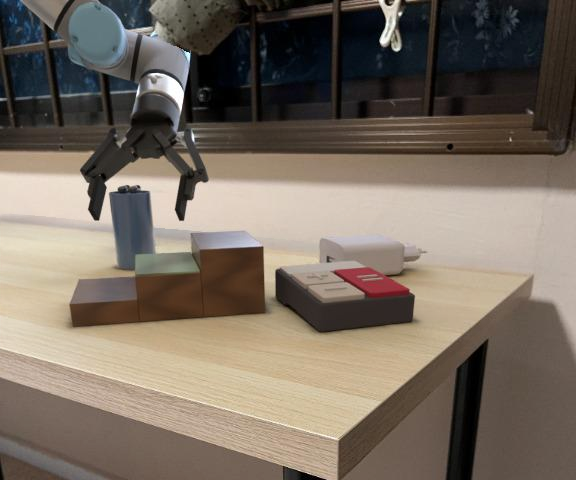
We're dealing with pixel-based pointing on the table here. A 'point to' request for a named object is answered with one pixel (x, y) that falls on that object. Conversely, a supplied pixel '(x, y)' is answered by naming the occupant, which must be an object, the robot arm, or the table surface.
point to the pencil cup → (132, 224)
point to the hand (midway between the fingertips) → (136, 215)
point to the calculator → (343, 295)
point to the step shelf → (179, 284)
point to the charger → (369, 252)
